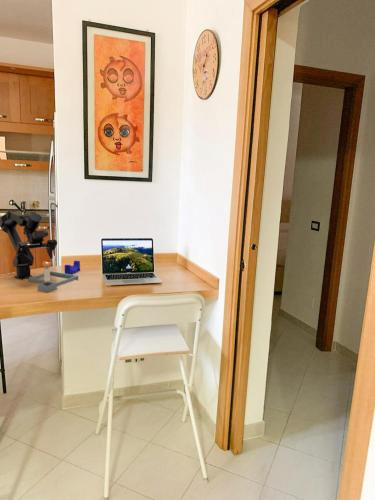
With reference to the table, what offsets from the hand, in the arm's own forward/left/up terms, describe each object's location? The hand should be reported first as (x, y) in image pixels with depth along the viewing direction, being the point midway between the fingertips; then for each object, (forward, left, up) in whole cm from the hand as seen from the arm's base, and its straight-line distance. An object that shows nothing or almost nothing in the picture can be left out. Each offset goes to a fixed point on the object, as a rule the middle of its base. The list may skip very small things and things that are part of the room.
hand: (42, 259), depth 181 cm
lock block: (+6, -4, -14) cm, 16 cm away
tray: (-3, +11, -14) cm, 18 cm away
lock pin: (+6, -4, -13) cm, 15 cm away
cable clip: (-7, +30, -15) cm, 34 cm away
